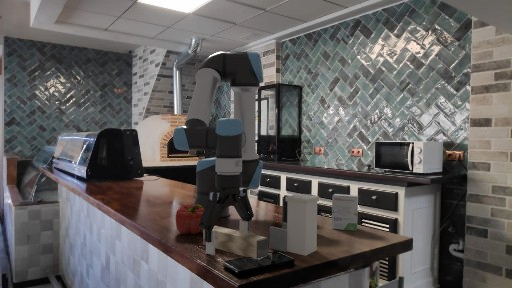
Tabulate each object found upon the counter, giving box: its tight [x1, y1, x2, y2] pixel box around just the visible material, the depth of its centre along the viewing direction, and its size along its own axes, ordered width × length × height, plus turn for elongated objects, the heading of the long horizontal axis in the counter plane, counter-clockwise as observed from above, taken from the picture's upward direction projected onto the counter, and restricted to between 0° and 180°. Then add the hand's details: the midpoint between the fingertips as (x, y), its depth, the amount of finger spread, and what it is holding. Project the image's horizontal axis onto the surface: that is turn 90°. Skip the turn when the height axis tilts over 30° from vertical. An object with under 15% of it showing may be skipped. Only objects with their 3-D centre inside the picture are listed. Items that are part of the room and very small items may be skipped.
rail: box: [202, 225, 270, 258], centre depth 101 cm, size 21×4×5 cm, turn 51°
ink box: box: [331, 193, 359, 232], centre depth 127 cm, size 9×5×12 cm, turn 71°
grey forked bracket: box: [268, 193, 320, 256], centre depth 103 cm, size 12×8×15 cm, turn 51°
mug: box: [281, 195, 288, 223], centre depth 136 cm, size 9×12×9 cm
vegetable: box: [175, 204, 204, 235], centre depth 118 cm, size 11×10×10 cm
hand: (227, 248), depth 102 cm, fingers open, 13 cm apart
